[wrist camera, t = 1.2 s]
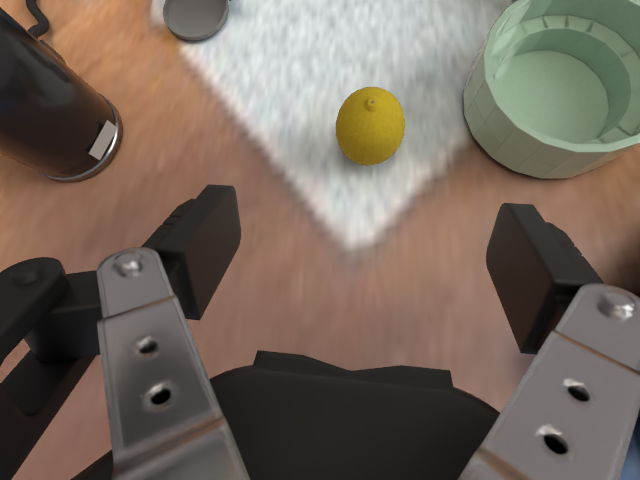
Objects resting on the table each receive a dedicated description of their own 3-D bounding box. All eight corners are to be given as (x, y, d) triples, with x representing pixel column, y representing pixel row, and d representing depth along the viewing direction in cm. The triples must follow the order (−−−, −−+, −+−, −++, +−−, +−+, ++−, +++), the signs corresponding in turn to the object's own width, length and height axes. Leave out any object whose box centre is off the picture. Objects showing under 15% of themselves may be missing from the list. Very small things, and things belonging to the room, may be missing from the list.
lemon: (338, 179, 34) (334, 139, 26) (337, 122, 35) (333, 68, 27) (399, 177, 34) (414, 136, 26) (396, 120, 35) (410, 64, 27)
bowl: (429, 93, 35) (445, 48, 29) (550, 10, 36) (589, -50, 30) (533, 212, 32) (574, 189, 26) (662, 120, 33) (730, 78, 27)
